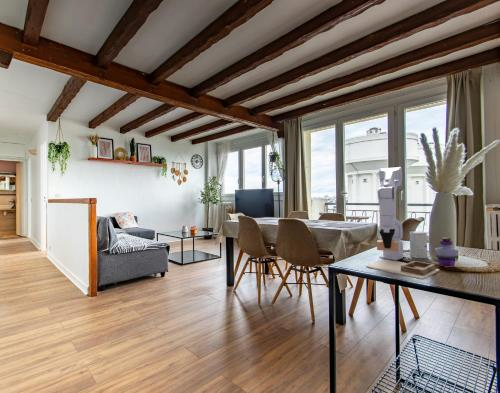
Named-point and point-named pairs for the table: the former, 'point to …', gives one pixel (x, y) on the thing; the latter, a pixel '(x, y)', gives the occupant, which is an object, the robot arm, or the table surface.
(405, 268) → the tray
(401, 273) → the mat
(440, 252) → the potion bottle
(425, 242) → the skincare box
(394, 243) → the salmon orange block
